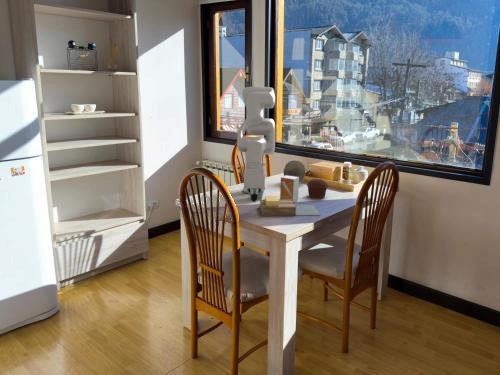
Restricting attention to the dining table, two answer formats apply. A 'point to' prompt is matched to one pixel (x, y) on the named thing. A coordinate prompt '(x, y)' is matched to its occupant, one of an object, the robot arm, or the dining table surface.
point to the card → (271, 201)
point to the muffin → (317, 188)
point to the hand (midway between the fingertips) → (254, 201)
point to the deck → (278, 208)
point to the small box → (289, 188)
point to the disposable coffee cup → (260, 194)
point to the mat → (306, 210)
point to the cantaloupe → (295, 169)
